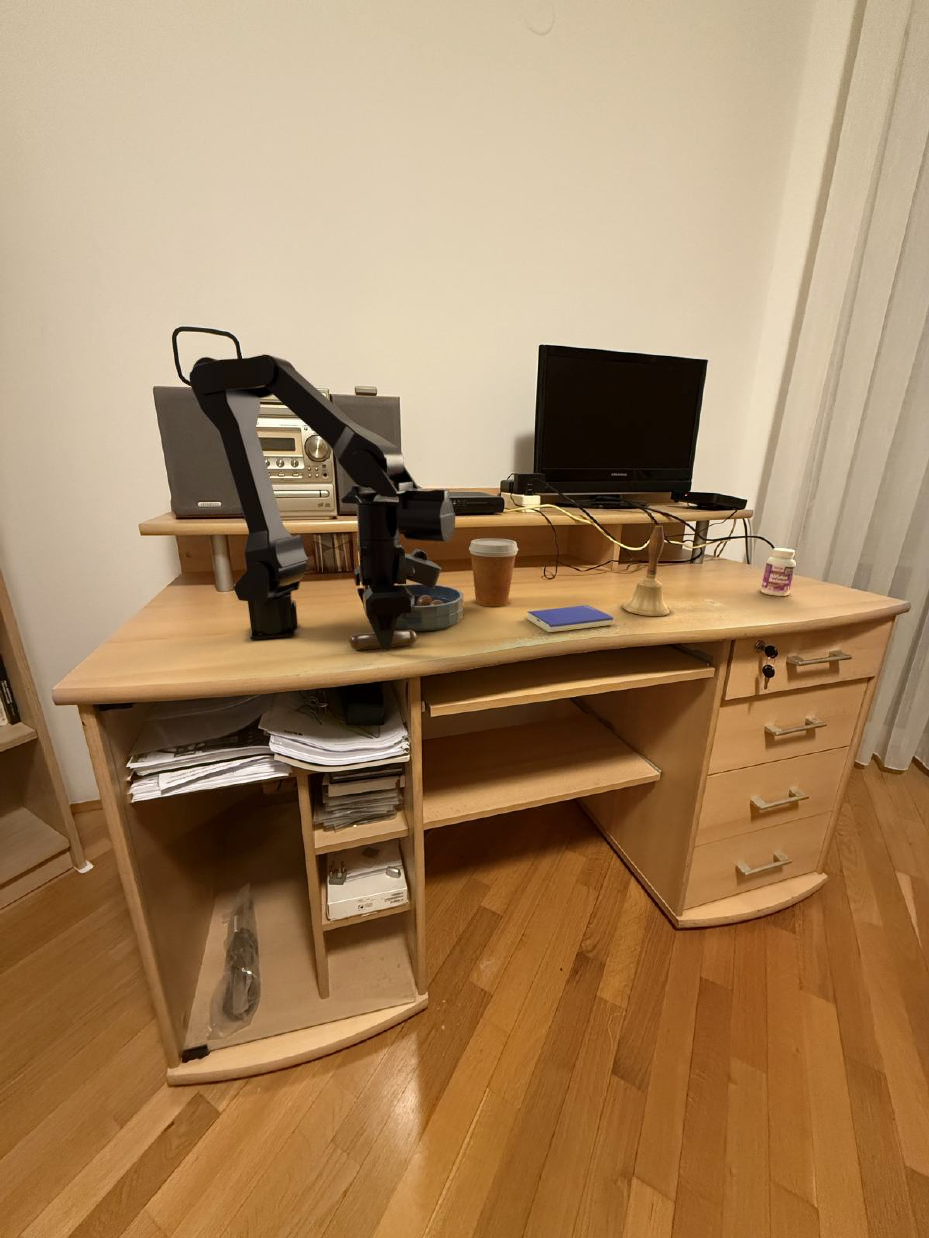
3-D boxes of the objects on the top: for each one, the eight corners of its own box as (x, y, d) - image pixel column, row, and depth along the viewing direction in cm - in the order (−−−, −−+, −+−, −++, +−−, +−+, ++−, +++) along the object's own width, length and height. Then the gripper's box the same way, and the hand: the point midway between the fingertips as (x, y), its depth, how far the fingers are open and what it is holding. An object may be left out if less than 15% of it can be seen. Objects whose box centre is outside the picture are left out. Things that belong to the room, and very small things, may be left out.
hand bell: (665, 605, 96) (678, 524, 91) (672, 618, 89) (685, 529, 84) (622, 602, 98) (631, 522, 93) (624, 614, 91) (635, 527, 86)
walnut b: (445, 597, 85) (451, 613, 85) (430, 603, 86) (436, 619, 86) (437, 597, 83) (444, 614, 82) (423, 603, 84) (429, 620, 83)
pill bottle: (766, 595, 105) (775, 551, 102) (756, 589, 110) (765, 546, 107) (793, 597, 104) (804, 552, 101) (782, 590, 109) (792, 548, 106)
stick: (350, 653, 71) (349, 637, 70) (349, 647, 73) (348, 632, 72) (418, 646, 73) (418, 631, 73) (415, 641, 76) (414, 626, 75)
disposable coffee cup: (513, 610, 92) (516, 547, 88) (463, 607, 93) (464, 544, 90) (518, 597, 100) (521, 539, 97) (472, 594, 102) (473, 537, 98)
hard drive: (586, 604, 91) (527, 610, 87) (613, 616, 84) (550, 624, 80) (585, 612, 91) (526, 618, 87) (612, 625, 84) (549, 633, 80)
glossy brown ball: (434, 614, 88) (421, 616, 86) (424, 605, 90) (411, 607, 88) (438, 599, 87) (425, 601, 85) (429, 591, 88) (415, 592, 86)
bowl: (382, 637, 77) (381, 610, 76) (371, 609, 91) (370, 586, 89) (474, 629, 81) (474, 603, 80) (450, 604, 95) (450, 581, 94)
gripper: (453, 547, 62) (452, 661, 66) (422, 527, 79) (423, 619, 83) (363, 550, 58) (369, 669, 63) (351, 529, 75) (356, 624, 80)
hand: (383, 642), depth 73 cm, fingers open, 5 cm apart
